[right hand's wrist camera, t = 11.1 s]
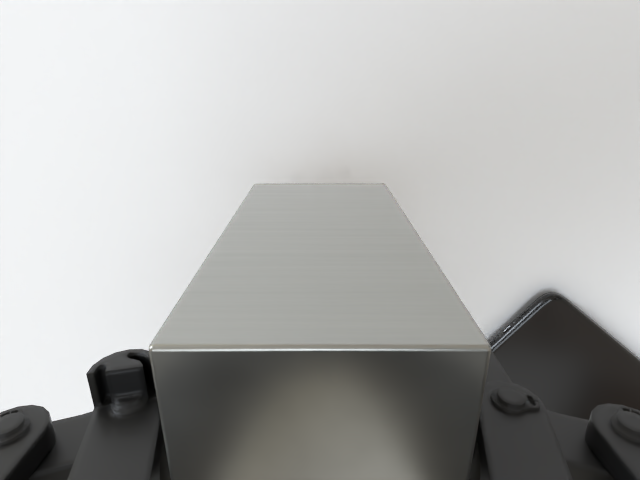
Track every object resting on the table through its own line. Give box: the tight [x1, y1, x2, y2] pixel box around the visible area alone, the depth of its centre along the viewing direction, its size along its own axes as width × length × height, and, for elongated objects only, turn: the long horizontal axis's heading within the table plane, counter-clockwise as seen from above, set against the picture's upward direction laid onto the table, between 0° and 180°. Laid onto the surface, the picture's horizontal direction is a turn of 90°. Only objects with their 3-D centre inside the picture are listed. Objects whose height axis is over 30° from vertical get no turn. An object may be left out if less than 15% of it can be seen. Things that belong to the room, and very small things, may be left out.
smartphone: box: [489, 292, 640, 420], centre depth 29 cm, size 8×1×16 cm
